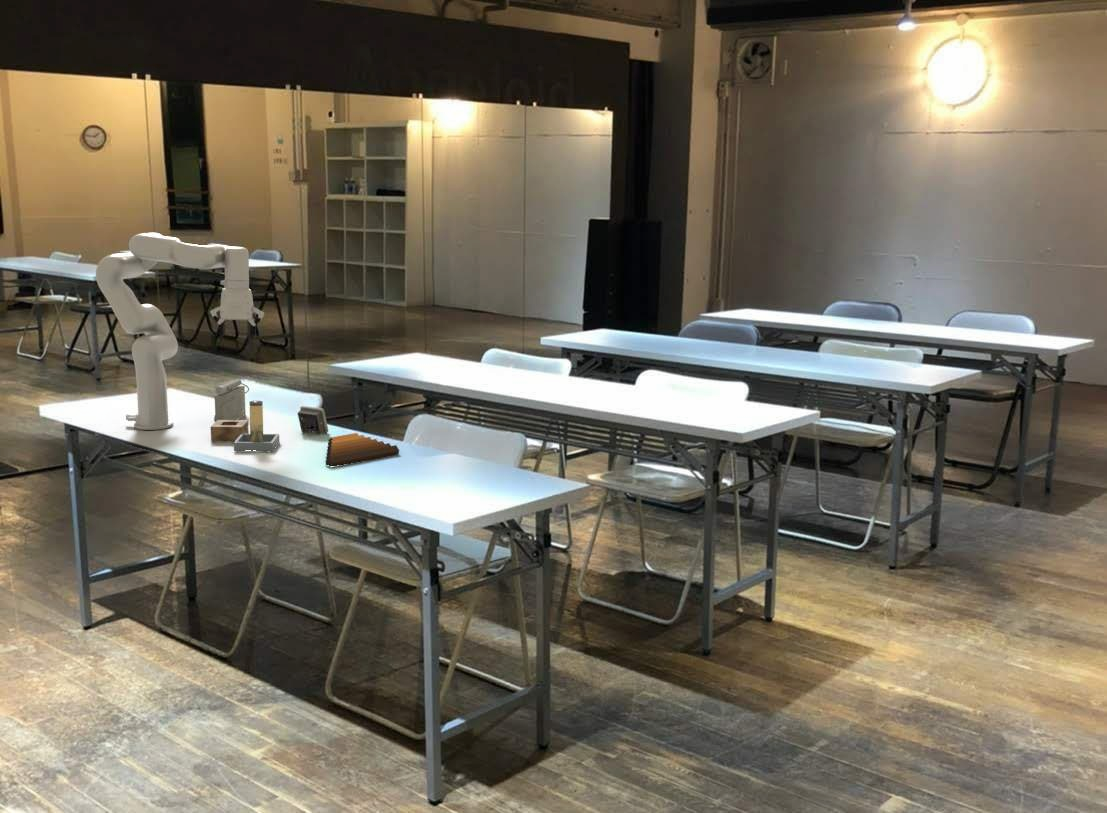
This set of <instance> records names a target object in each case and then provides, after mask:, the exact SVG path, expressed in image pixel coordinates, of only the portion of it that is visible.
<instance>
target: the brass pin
mask: <svg viewBox="0 0 1107 813" xmlns="http://www.w3.org/2000/svg"><path fill="white" fill-rule="evenodd" d="M263 404H264V402H263V401H262V400H250V401H249V434H250V442H263V434H264V411H263V408H264V405H263Z"/></svg>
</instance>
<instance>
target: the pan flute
mask: <svg viewBox="0 0 1107 813" xmlns="http://www.w3.org/2000/svg"><path fill="white" fill-rule="evenodd" d="M399 454H400V449H399V447H398V446H397V444H394V445H391V444H390V442H388V443H384V441H383V440H381V441H378V439H377V438H374V439H372V438H371V437H370V436H367V437H366V436H365V435H364V434H360V435H359V434H358V432H354V433H349V434H344V435H342V434H341V435H336V436H331V437H330V438H329V439H328V443H327V449H326V456H325V466H326V465H329V466H337V465H343V466H345V465H344V464H348V465H352V464H351V463H353V464H357V462H359V463H363V461H364V462H367V461H368V462H369V461H373V460H378V459H383V458H389V457H393V456H399Z"/></svg>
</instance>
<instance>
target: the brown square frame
mask: <svg viewBox="0 0 1107 813" xmlns="http://www.w3.org/2000/svg"><path fill="white" fill-rule="evenodd" d="M241 434H250V429H249V420H247V419H237V420H217V421H216V422H215V421H214V423H213V424H211V426H210V442H211V441H235V440H236V439H237V438H238V437H239V436H240V435H241Z"/></svg>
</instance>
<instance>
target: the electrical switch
mask: <svg viewBox="0 0 1107 813" xmlns="http://www.w3.org/2000/svg"><path fill="white" fill-rule="evenodd" d="M297 416H298V422H299V426H300V429H301V430H300V431H301V433H302V432H303V434H309V435H318V436H321V435H323V434H328V433H329V427H328V422H327V417H326V413H325V409H324V408H322V407H321V408H320V407H315V406H314V407H313V406H305V405H304V406H303V405H301V406H300V408H299V411H298V412H297Z"/></svg>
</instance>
